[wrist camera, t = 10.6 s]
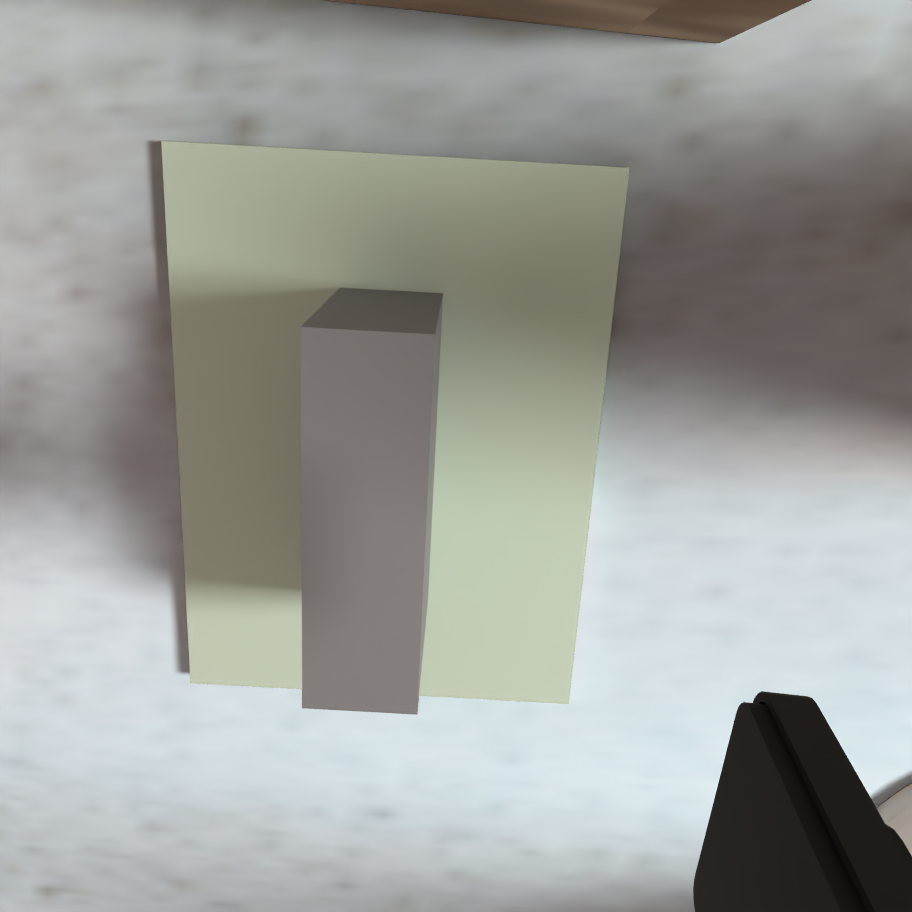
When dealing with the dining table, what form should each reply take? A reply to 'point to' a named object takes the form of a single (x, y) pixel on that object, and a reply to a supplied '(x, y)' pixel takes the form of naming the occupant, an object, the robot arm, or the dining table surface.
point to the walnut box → (617, 14)
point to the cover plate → (490, 397)
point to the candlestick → (899, 814)
